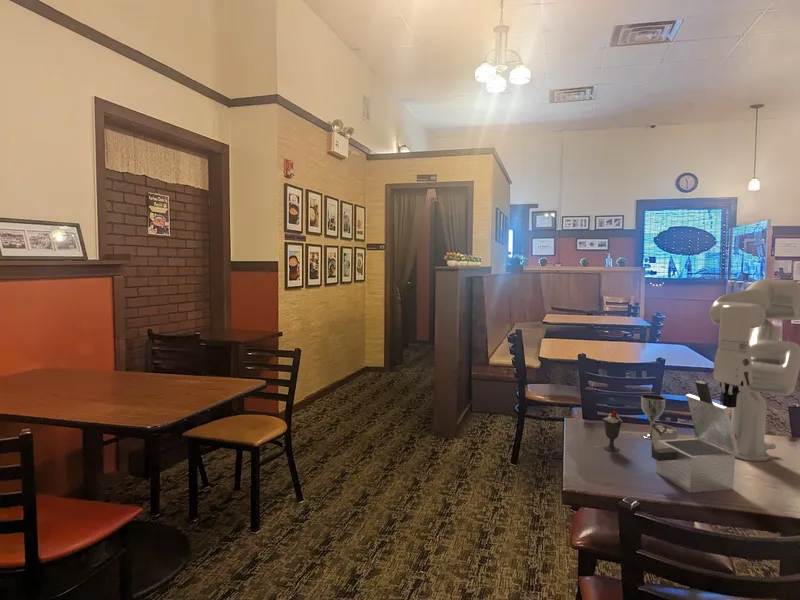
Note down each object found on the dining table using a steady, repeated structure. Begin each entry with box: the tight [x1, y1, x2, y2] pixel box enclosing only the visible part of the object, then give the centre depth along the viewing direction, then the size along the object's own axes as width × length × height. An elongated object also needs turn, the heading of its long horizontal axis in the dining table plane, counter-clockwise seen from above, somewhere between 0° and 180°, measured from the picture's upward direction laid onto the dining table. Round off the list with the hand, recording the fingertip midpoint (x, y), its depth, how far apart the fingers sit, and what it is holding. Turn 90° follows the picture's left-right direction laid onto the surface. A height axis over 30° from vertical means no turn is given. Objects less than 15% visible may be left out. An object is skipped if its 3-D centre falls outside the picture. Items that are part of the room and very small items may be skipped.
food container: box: [650, 421, 678, 453], centre depth 170 cm, size 12×6×10 cm, turn 168°
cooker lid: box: [685, 379, 739, 454], centre depth 152 cm, size 20×14×3 cm
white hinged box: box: [651, 437, 736, 494], centre depth 152 cm, size 20×14×10 cm
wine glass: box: [640, 393, 666, 441], centre depth 190 cm, size 8×8×15 cm
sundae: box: [601, 407, 624, 453], centre depth 177 cm, size 7×7×15 cm
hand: (729, 406), depth 156 cm, fingers closed
